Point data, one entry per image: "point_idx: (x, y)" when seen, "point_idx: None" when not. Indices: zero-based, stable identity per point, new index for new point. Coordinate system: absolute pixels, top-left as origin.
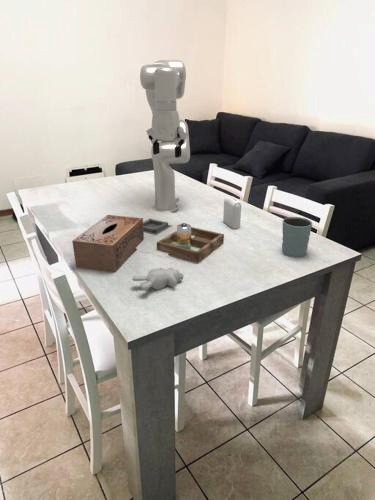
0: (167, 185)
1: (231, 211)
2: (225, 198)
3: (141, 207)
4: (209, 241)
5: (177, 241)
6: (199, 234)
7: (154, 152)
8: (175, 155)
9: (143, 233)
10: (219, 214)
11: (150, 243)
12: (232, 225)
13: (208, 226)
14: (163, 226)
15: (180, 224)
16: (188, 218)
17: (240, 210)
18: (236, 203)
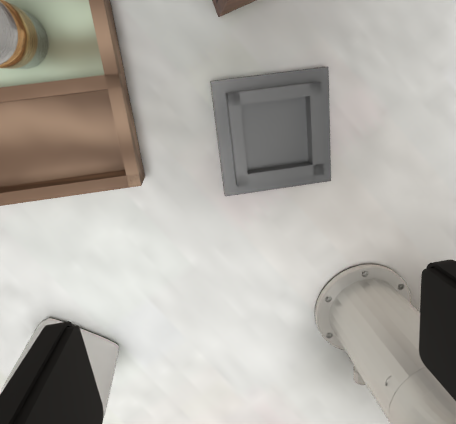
0: (386, 363)
1: None
2: None
3: None
4: (11, 168)
5: (14, 5)
6: (67, 180)
7: (448, 275)
8: (50, 336)
9: (221, 8)
10: (176, 384)
11: (185, 19)
12: (45, 323)
13: (131, 283)
14: (233, 153)
15: (2, 36)
16: (238, 295)
17: None
18: None
